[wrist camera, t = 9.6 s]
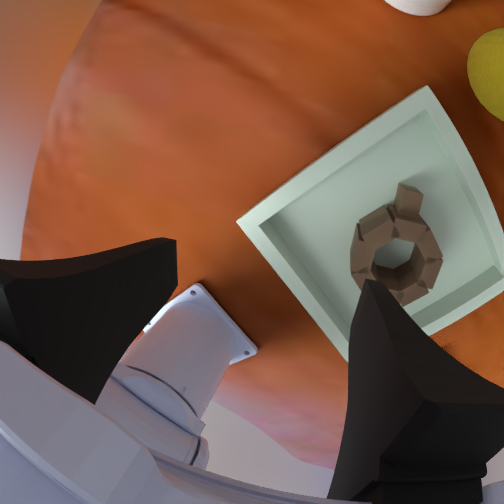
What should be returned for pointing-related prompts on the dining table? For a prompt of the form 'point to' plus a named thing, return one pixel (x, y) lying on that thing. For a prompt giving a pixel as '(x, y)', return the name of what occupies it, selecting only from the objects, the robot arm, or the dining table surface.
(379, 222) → the ring
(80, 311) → the robot arm
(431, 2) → the drinking glass
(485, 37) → the lemon
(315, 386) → the dining table surface
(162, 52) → the dining table surface
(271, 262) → the tray
